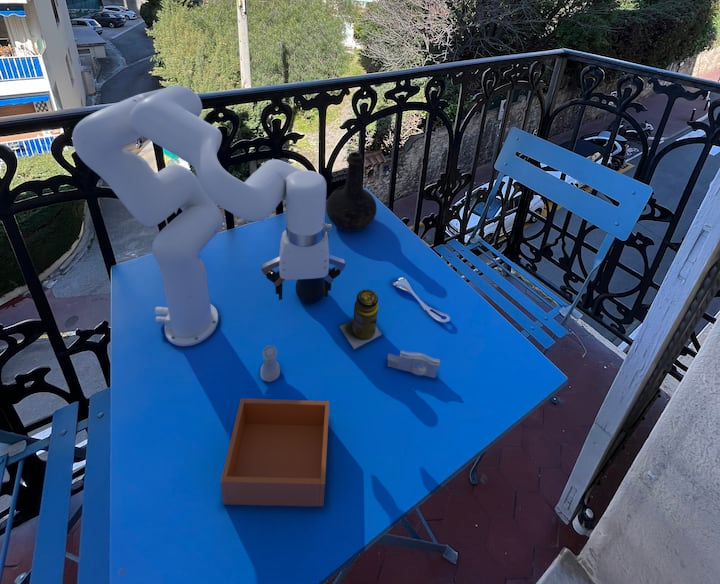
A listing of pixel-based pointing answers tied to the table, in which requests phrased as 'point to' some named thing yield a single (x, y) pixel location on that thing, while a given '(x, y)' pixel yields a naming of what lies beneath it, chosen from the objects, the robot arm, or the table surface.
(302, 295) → the cola bottle
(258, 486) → the bin
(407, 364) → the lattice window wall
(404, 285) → the silver metal spoon
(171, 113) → the robot arm
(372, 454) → the table surface
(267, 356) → the rook chess piece
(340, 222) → the glass bottle
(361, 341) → the condiment
